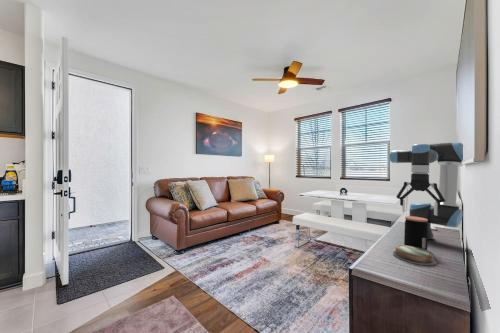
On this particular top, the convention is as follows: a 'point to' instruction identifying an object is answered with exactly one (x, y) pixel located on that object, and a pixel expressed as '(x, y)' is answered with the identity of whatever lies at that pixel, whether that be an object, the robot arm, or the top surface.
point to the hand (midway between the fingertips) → (419, 213)
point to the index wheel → (415, 253)
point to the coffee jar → (415, 231)
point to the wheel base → (415, 262)
